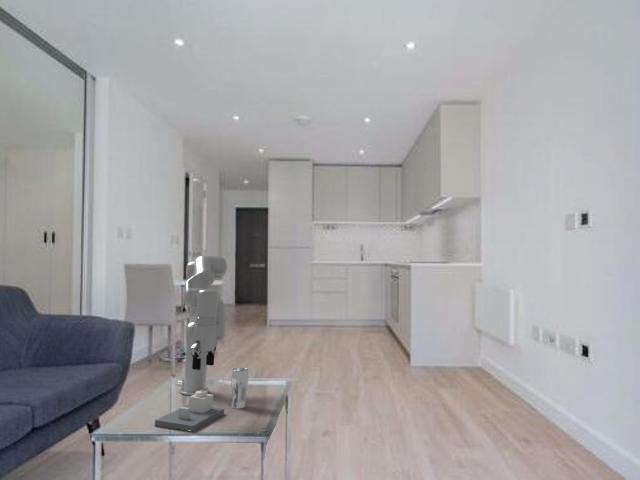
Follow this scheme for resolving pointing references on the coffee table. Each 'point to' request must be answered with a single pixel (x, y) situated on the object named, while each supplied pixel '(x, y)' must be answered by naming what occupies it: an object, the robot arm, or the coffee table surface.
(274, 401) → the coffee table surface
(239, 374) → the beer glass
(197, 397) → the knob
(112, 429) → the coffee table surface
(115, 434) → the coffee table surface
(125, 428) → the coffee table surface
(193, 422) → the flat gray board
